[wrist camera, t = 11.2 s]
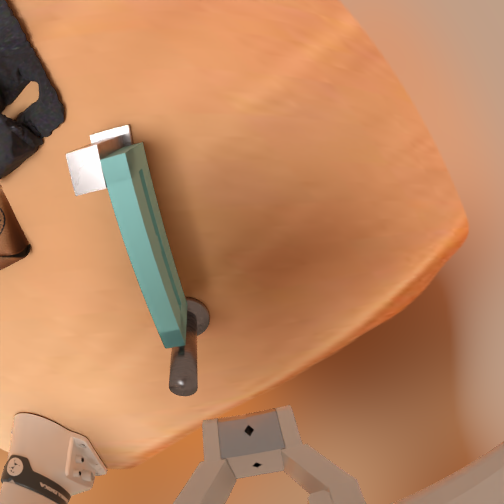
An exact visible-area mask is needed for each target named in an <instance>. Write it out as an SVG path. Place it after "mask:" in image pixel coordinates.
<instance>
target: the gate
mask: <svg viewBox="0 0 504 504" xmlns="http://www.w3.org/2000/svg"><path fill="white" fill-rule="evenodd" d="M100 163H101V166H102V170H103V174H104V178H105V181H106V185H107V189H108V192H109V196H110V199H111V202H112V206H113V209H114V212H115V216H116V219H117V222H118V225H119V228H120V231H121V234H122V237H123V240H124V243H125V246H126V249H127V252H128V255H129V258H130V261H131V264H132V266H133V269H134V272H135V275H136V277H137V280H138V283H139V285H140V288H141V291H142V293H143V296H144V298H145V301H146V304H147V306H148V309H149V311H150V314H151V316H152V318H153V321H154V323H155V326H156V328H157V330H158V333H159V335H160V337H161V340H162V342H163V344H164V347H165V348H172V347H178V346H184V345H186V324H187V305H188V304H187V301H186V298H185V295H184V292H183V289H182V286H181V282H180V279H179V276H178V273H177V270H176V266H175V263H174V260H173V256H172V253H171V249H170V246H169V242H168V239H167V235H166V232H165V228H164V225H163V221H162V217H161V214H160V210H159V206H158V202H157V199H156V195H155V191H154V187H153V183H152V179H151V175H150V171H149V167H148V162H147V158H146V154H145V150H144V145H143V142H141V143H137V144H133V145H130V146H126V147H123V148H121V149H119V150H117V151H115V152H113V153H112V154H110V155H108V156H106V157H105V158H103V159H101V160H100Z"/></svg>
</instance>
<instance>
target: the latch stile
mask: <svg viewBox="0 0 504 504" xmlns="http://www.w3.org/2000/svg"><path fill="white" fill-rule="evenodd" d="M90 139H91V144H89V145H86V146H84V147H81V148H79V149H76V150H74V151H72V152H69V153H67V154H66V159H67V163H68V167H69V172H70V176H71V180H72V184H73V188H74V191H75V195H76V196H78V195H82V194H86V193H90V192H93V191H98V190H102V189H106V188H107V185H106V181H105V178H104V174H103V170H102V166H101V163H100V160H101V159H103V158H105V157H106V156H108V155H110V154H112V153H113V152H115V151H117V150H119V149H121V148H123V147H126V146H130V145H133V140H132V135H131V129H130V125H126V126H122V127H118V128H114V129H110V130H107V131H103V132H99V133H96V134H92V135H90Z"/></svg>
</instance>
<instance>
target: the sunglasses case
mask: <svg viewBox="0 0 504 504" xmlns="http://www.w3.org/2000/svg"><path fill="white" fill-rule="evenodd" d="M29 251H30V244H29V243H28V241H27V239H26V237H25V235H24V233H23V231H22V229H21V227H20V225H19V223H18V221H17V219H16V217H15V215H14V213H13V210H12V208H11V206H10V204H9V202H8V200H7V198H6V196H5V194H4V192H3V190H2V186H1V185H0V270H1V269H3V268H5V267H7V266H9V265H11V264H13V263H15V262H17V261H19V260H21V259H23V258H25V257H26V256H27V255H28V253H29Z"/></svg>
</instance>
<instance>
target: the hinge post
mask: <svg viewBox="0 0 504 504" xmlns="http://www.w3.org/2000/svg"><path fill="white" fill-rule="evenodd" d="M185 298H186V301H187V304H188V305H187V324H186V345H184V346H178V347H172V352H171V365H170V379H169V389H170V390H171V392H173V393H174V394H176V395H179V396H190V395H192V394H194V393H195V392H196V391H197V388H198V386H197V336H198V335H200V334H201V333H203V332H204V331H205V330H206V329H207V327H208V325H209V312H208V310H207V308H206V306H205V305H204V304H203V303H201V302H200V301H198V300H196V299H194V298H189V297H185Z"/></svg>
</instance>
